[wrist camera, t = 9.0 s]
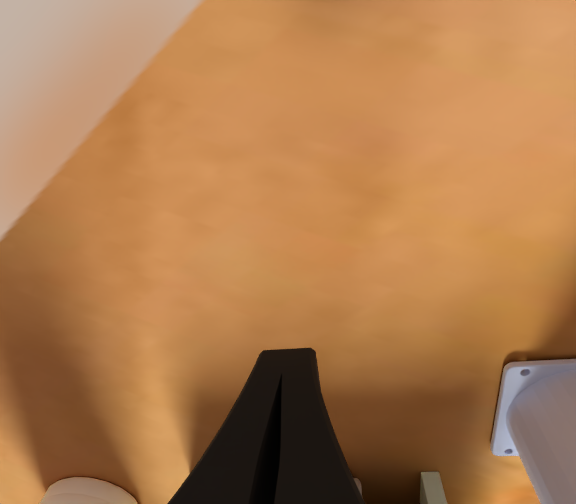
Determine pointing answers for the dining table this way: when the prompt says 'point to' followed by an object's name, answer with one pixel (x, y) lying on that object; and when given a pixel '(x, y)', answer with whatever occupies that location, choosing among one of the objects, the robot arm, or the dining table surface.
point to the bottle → (86, 492)
